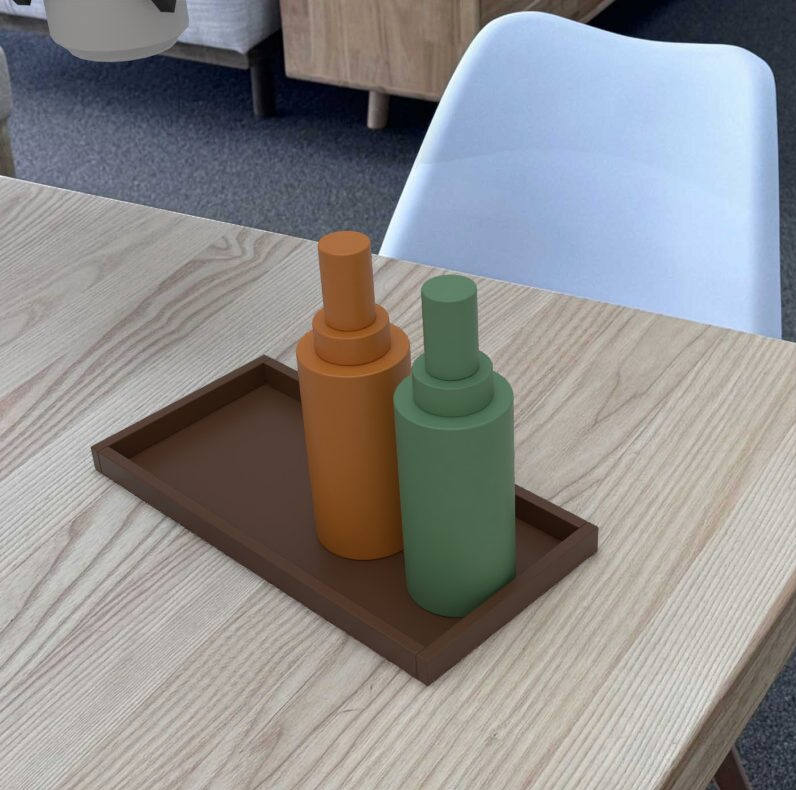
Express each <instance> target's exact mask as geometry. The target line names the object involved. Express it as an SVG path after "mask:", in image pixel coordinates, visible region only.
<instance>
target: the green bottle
mask: <svg viewBox="0 0 796 790" xmlns="http://www.w3.org/2000/svg"><path fill="white" fill-rule="evenodd" d="M420 300H421V319H422V335H423V338H422V340H423V352H422V353H421V354H419V355H418V356H417V357H416V358H415V359H414V361H413V363H412V364H411V367H412V374H411V375H409V376H408V377H406V378H405V379H404V380H403V381H402V382H401V383H400V384H399V385H398V387H397V388H396V390H395V393H394V397H393V404H394V418H395V432H396V446H397V460H398V474H399V488H400V502H401V517H402V531H403V545H404V559H405V573H406V585H407V590H408V592H409V594H410V596H411V598H412V599H413V600H414V601H415V602H416V603H417V604H418V605H419V606H420V607H422V608H423V609H425V610H427V611H429V612H431V613H434V614H437V615H441V616H446V617H454V618H464V617H466V616H467V615H468V614H469V613H471V612H472V611H473V610H475V609H476V608H477V607H478V606H480V605H481V604H482V603H484V602H485V601H486V600H487V599H489V598H490V597H491V596H493V595H494V594H495V593H497V592H498V591H499V590H500V589H502V588H503V587H504V586H506V585H507V584H508V583H509V582H511V581H512V580H513V579H515V578H516V544H515V484H516V483H515V481H516V480H515V479H516V478H515V475H516V473H515V407H514V406H515V405H514V404H515V401H514V395H515V393H514V390H513V387H512V385H511V384H510V382H509V381H508V380H507V379H506V378H505V377H504V376H503V375H501V374H500V373H498V372H497V371H494V365H493V362H492V359H491V358H490V357H489V355H487V354H486V353H484V352H483V351H481V350H480V344H479V343H480V340H479V308H478V307H479V306H478V304H479V303H478V286H477V284H476V282H475V281H474V280H473V279H471V278H470V277H468V276H465V275H460V274H441V275H436V276H433V277H431V278H429V279H427V280H426V281H424V283H423V284H422V285H421V287H420Z"/></svg>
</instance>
